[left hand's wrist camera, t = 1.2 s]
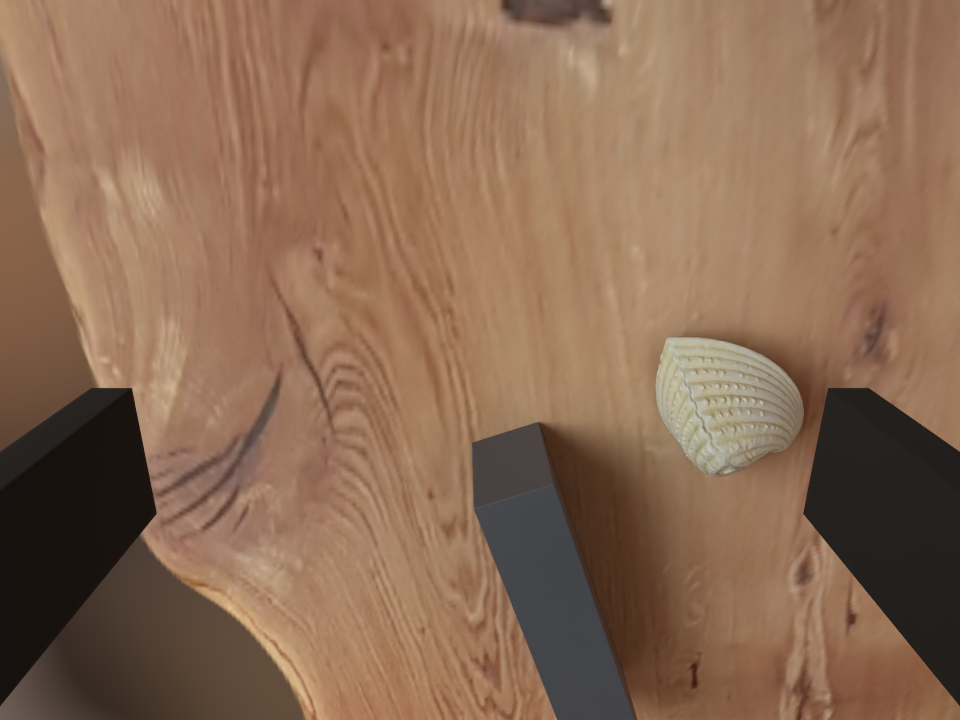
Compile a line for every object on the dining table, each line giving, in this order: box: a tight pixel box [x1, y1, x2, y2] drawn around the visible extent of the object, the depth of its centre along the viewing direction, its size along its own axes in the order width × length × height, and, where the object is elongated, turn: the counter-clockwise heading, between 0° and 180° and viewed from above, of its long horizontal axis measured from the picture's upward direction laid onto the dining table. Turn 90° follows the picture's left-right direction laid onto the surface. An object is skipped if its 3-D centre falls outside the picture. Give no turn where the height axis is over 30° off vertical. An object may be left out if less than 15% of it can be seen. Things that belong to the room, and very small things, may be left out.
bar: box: [472, 422, 637, 720], centre depth 43 cm, size 22×5×8 cm, turn 19°
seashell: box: [656, 336, 804, 477], centre depth 40 cm, size 8×8×8 cm
